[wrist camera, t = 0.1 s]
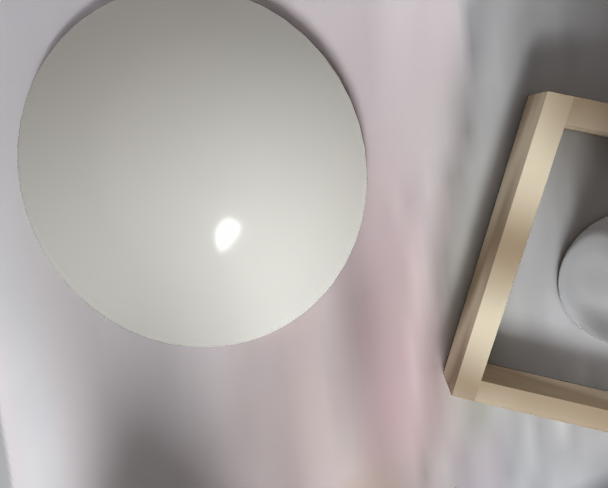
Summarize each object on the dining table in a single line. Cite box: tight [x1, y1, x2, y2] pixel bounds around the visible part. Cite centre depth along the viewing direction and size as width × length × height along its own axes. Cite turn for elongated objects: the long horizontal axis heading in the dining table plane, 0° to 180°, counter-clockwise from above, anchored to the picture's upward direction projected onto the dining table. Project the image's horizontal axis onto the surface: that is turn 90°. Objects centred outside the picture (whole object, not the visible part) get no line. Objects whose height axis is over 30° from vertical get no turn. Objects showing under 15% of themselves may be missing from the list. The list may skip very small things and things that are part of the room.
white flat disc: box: [18, 0, 367, 347], centre depth 22 cm, size 16×16×1 cm
